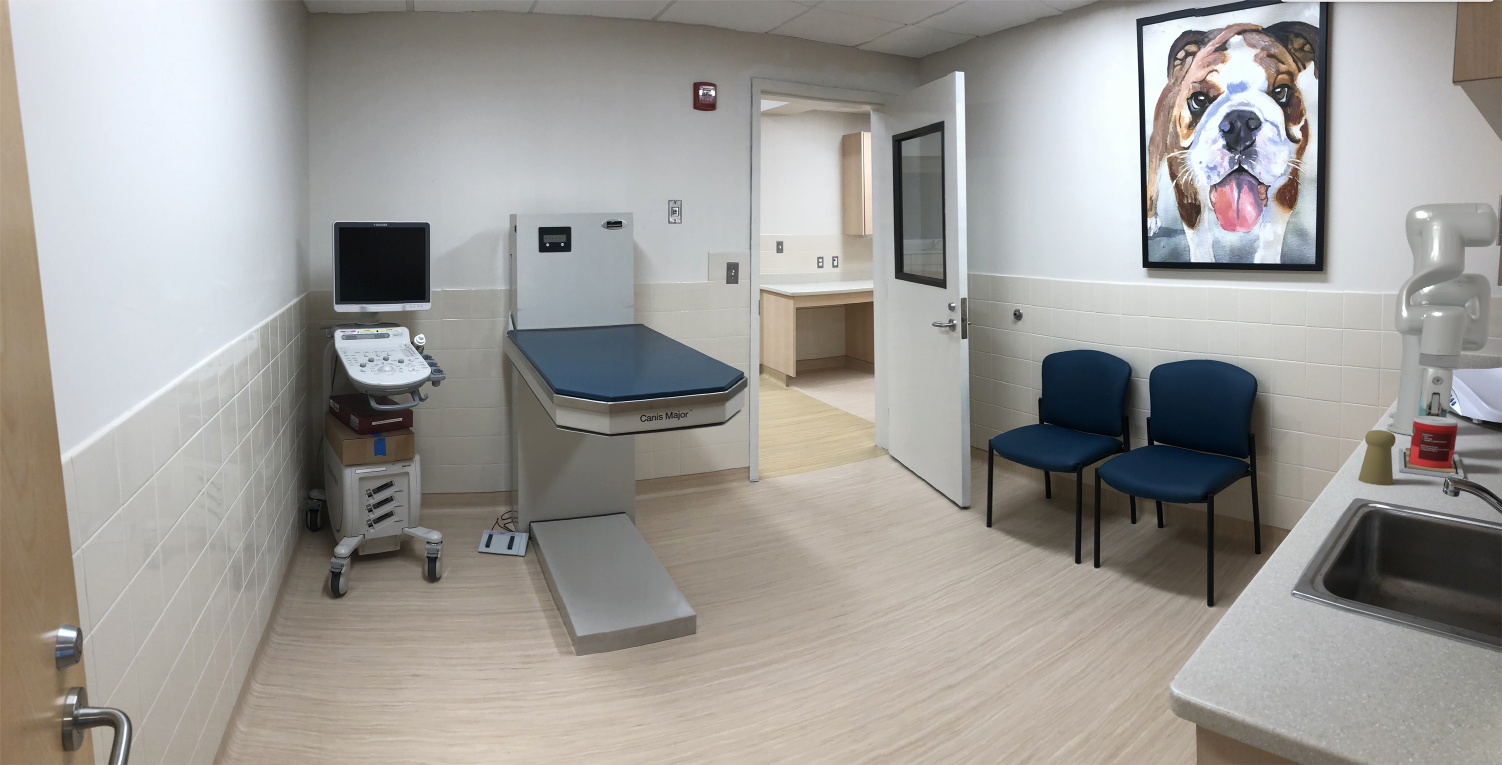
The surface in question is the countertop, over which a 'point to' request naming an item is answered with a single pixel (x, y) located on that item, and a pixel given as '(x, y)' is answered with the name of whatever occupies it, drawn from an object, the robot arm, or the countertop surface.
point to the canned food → (1433, 442)
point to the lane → (1426, 472)
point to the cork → (1378, 458)
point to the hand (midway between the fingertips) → (1429, 437)
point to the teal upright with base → (1409, 465)
